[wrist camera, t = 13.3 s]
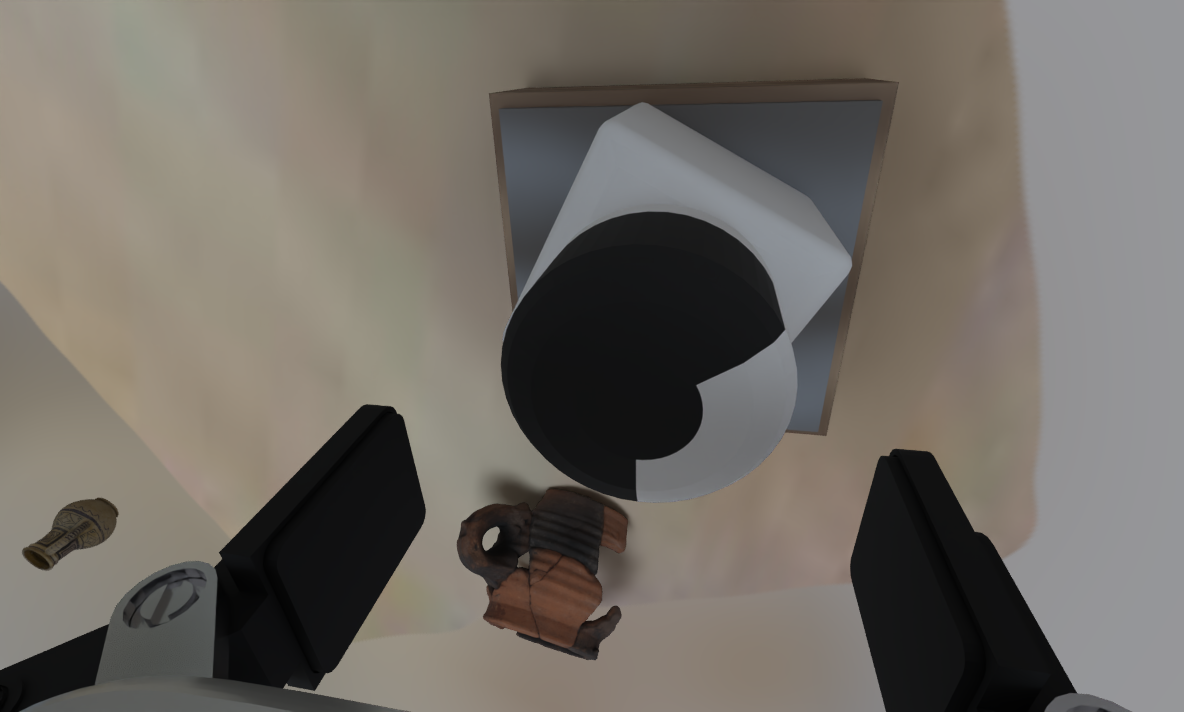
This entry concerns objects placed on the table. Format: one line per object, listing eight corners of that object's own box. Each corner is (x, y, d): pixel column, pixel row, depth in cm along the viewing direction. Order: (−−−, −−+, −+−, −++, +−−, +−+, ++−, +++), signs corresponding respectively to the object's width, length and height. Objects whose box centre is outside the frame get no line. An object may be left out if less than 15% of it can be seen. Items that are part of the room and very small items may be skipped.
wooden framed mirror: (525, 88, 24) (484, 94, 20) (865, 78, 22) (903, 83, 17) (547, 365, 31) (520, 415, 26) (810, 384, 28) (828, 442, 24)
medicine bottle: (555, 267, 23) (418, 444, 12) (639, 97, 19) (548, 141, 9) (705, 351, 23) (697, 590, 13) (815, 199, 19) (930, 359, 9)
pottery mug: (673, 533, 35) (641, 677, 31) (594, 539, 42) (559, 654, 38) (514, 450, 31) (452, 602, 27) (458, 472, 38) (402, 593, 34)
